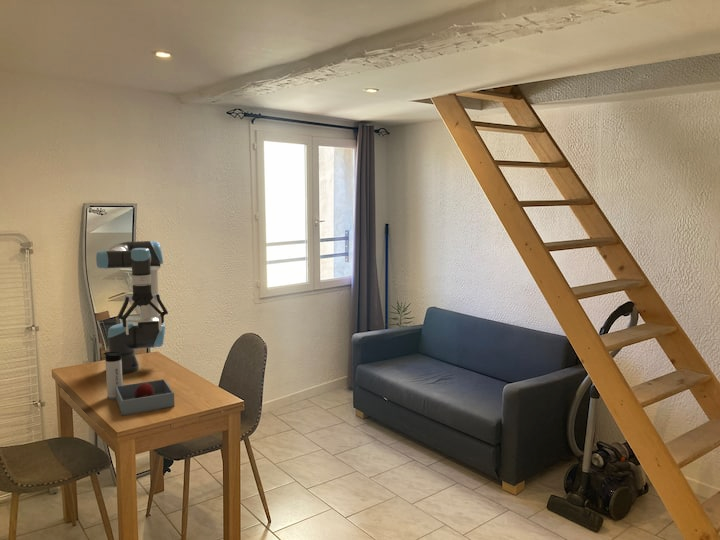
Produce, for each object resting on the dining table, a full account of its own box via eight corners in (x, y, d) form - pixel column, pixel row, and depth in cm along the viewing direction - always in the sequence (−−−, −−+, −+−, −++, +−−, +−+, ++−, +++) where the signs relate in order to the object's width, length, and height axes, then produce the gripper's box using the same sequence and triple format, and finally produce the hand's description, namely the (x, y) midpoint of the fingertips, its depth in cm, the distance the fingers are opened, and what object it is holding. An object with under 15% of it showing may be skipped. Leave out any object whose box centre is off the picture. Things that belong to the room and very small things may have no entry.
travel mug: (109, 394, 242) (107, 350, 239) (125, 394, 242) (123, 350, 240) (104, 399, 236) (102, 354, 233) (120, 399, 236) (118, 354, 234)
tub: (116, 400, 236) (115, 386, 235) (164, 392, 246) (164, 379, 245) (122, 415, 218) (121, 401, 218) (174, 406, 228) (173, 392, 228)
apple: (158, 400, 235) (157, 381, 234) (145, 406, 227) (144, 387, 226) (144, 397, 237) (143, 379, 236) (131, 404, 230) (130, 385, 229)
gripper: (111, 288, 227) (114, 337, 231) (173, 283, 240) (175, 330, 243) (109, 285, 234) (111, 333, 237) (170, 280, 246) (171, 326, 250)
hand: (144, 332), depth 240 cm, fingers open, 13 cm apart
